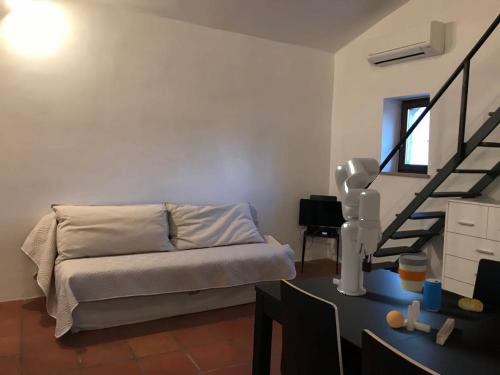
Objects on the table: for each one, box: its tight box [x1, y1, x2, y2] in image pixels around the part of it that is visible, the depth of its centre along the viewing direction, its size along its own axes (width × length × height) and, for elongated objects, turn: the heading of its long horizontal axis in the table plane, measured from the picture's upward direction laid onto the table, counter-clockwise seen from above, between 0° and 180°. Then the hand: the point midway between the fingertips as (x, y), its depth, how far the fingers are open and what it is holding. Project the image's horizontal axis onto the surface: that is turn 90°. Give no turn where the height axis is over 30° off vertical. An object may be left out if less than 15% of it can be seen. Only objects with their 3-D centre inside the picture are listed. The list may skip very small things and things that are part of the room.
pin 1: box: [406, 304, 415, 332], centre depth 153 cm, size 2×2×8 cm
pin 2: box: [412, 300, 421, 323], centre depth 158 cm, size 2×2×8 cm
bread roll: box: [457, 297, 484, 313], centre depth 176 cm, size 8×9×4 cm
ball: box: [386, 310, 405, 329], centre depth 155 cm, size 6×6×6 cm
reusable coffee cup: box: [398, 252, 428, 293], centre depth 199 cm, size 13×13×15 cm
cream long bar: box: [435, 317, 455, 346], centre depth 149 cm, size 2×18×3 cm, turn 144°
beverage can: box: [422, 277, 443, 313], centre depth 173 cm, size 6×6×12 cm
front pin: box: [403, 318, 431, 333], centre depth 154 cm, size 2×2×8 cm
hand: (366, 271), depth 165 cm, fingers closed
